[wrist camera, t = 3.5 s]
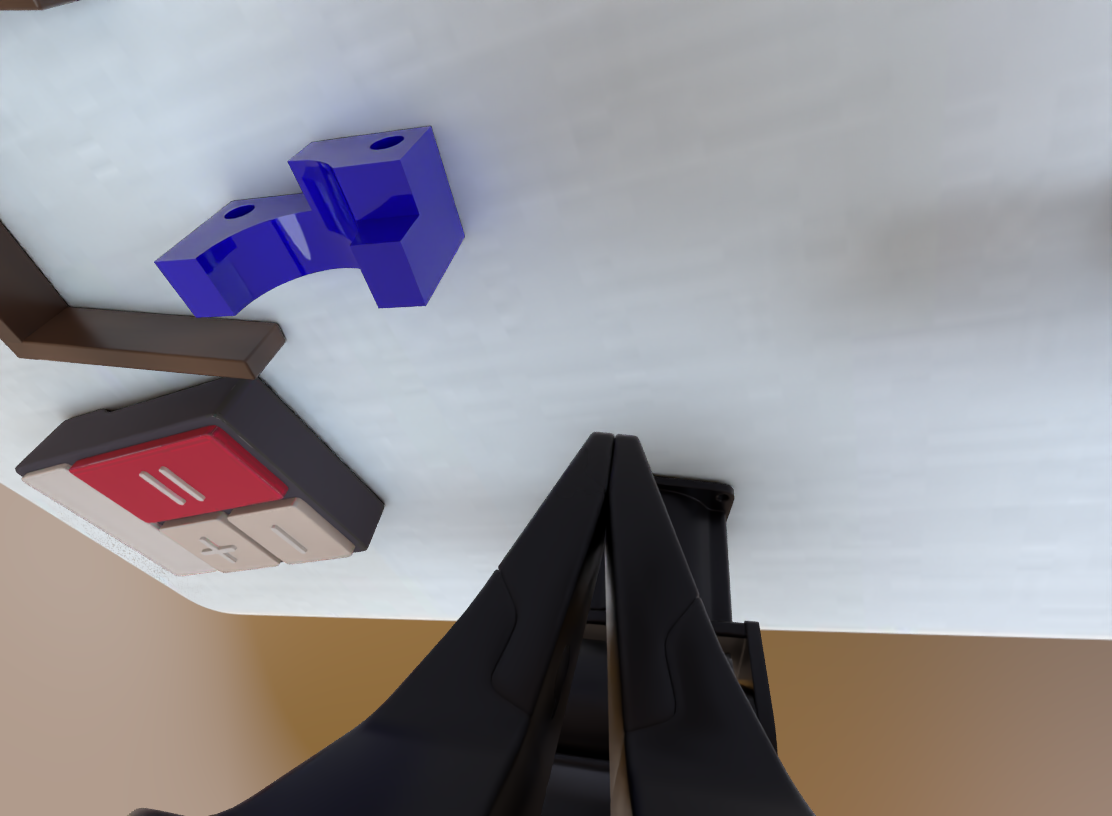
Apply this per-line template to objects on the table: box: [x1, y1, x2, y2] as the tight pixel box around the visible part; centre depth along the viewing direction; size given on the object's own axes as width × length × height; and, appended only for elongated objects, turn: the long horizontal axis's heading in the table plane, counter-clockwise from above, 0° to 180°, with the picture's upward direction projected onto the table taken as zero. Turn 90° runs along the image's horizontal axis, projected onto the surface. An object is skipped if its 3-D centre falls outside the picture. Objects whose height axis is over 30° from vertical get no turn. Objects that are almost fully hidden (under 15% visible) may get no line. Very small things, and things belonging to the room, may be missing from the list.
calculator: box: [15, 377, 384, 576], centre depth 30 cm, size 11×4×15 cm
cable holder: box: [154, 126, 465, 318], centre depth 17 cm, size 8×4×4 cm, turn 100°
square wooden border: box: [0, 0, 285, 380], centre depth 19 cm, size 11×13×2 cm
